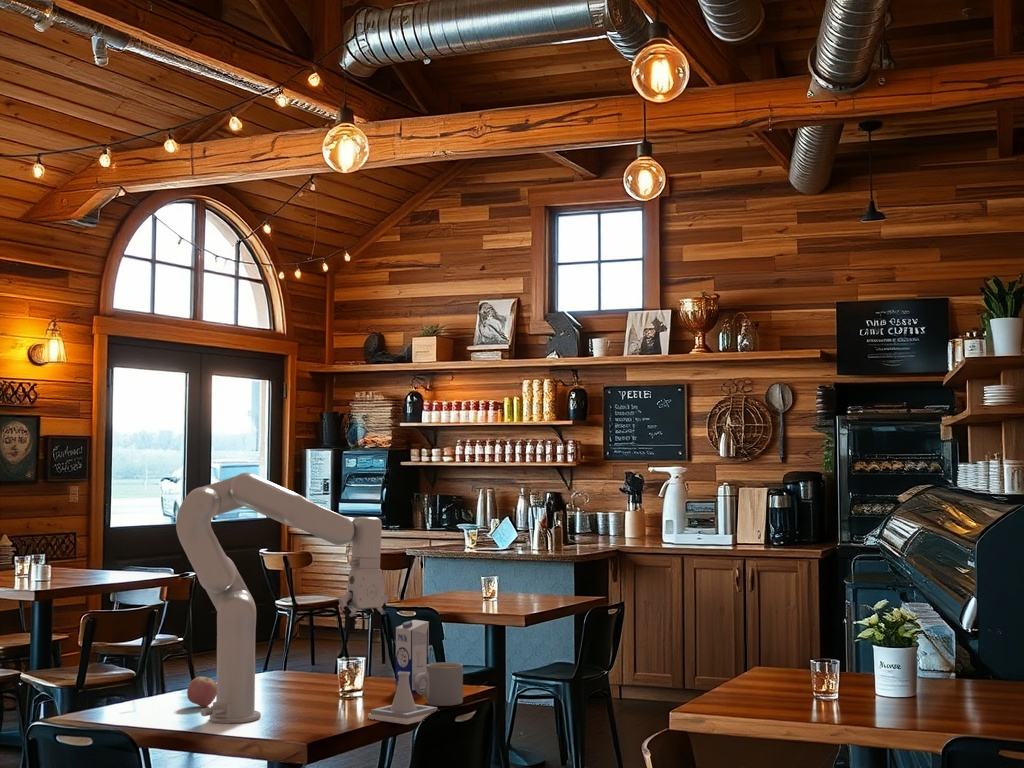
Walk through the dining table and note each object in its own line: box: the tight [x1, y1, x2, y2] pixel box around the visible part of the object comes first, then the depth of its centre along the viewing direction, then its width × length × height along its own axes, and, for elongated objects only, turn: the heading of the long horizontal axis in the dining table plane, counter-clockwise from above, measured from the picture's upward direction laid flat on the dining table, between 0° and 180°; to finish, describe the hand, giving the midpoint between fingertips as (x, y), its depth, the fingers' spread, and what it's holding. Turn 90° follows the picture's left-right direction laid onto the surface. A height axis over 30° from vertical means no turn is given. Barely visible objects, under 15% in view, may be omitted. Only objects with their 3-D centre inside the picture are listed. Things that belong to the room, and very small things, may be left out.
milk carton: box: [395, 619, 430, 695], centre depth 344 cm, size 7×7×20 cm
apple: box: [186, 676, 217, 708], centre depth 321 cm, size 8×8×8 cm
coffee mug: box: [414, 661, 464, 707], centre depth 326 cm, size 13×10×10 cm
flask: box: [390, 672, 417, 713], centre depth 306 cm, size 7×7×10 cm
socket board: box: [367, 703, 439, 725], centre depth 305 cm, size 13×13×2 cm
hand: (362, 630), depth 313 cm, fingers open, 9 cm apart
